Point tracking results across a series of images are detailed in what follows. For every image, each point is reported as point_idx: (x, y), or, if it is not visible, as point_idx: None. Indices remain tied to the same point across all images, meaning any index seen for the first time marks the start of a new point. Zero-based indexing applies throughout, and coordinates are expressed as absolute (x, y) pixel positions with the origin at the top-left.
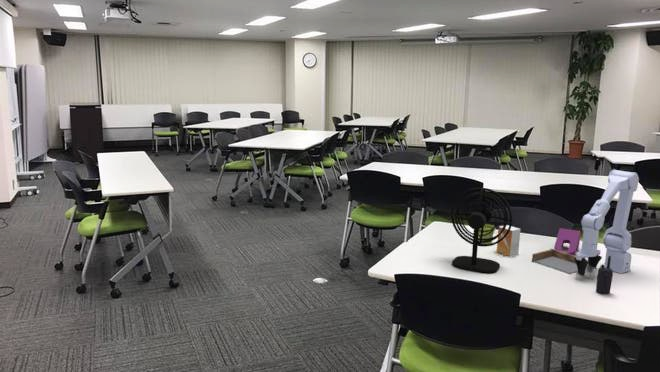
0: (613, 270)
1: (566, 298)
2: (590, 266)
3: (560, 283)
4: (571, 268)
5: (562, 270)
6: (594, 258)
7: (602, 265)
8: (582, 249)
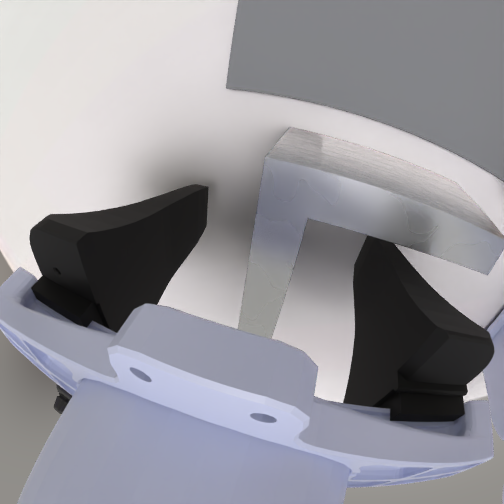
0: (497, 321)
1: (16, 235)
2: (261, 307)
3: (51, 154)
4: (390, 51)
5: (243, 11)
6: (365, 386)
7: (55, 407)
8: (49, 438)
